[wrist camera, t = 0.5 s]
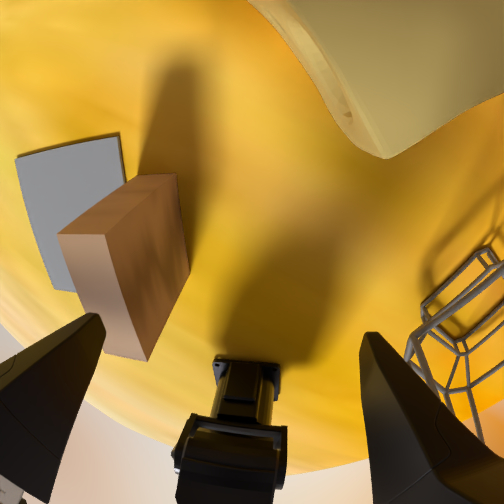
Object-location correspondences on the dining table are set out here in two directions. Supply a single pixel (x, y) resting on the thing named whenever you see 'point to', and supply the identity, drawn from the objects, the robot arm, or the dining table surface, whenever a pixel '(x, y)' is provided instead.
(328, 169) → the dining table surface
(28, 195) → the grey mat
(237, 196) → the dining table surface
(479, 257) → the geometric lantern
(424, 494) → the robot arm
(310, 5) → the cheese
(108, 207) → the walnut slab
